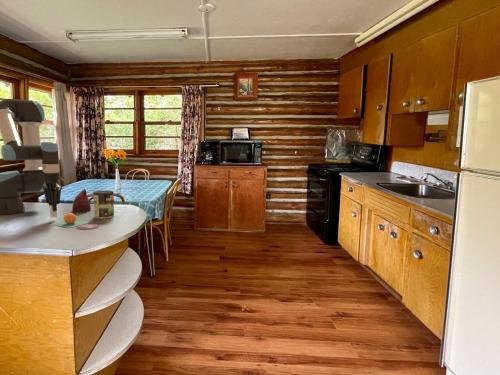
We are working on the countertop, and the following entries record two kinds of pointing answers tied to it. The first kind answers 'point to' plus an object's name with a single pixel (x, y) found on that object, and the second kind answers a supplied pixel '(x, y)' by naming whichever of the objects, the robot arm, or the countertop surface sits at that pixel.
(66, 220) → the ball
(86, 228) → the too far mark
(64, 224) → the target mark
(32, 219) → the countertop surface
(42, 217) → the countertop surface
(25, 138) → the robot arm
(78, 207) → the vegetable
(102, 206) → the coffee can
